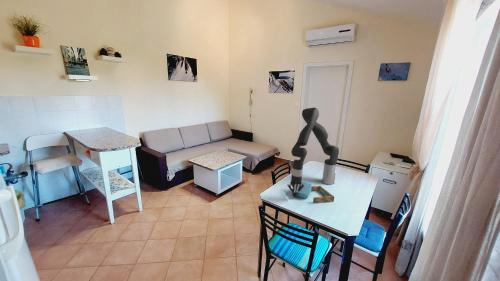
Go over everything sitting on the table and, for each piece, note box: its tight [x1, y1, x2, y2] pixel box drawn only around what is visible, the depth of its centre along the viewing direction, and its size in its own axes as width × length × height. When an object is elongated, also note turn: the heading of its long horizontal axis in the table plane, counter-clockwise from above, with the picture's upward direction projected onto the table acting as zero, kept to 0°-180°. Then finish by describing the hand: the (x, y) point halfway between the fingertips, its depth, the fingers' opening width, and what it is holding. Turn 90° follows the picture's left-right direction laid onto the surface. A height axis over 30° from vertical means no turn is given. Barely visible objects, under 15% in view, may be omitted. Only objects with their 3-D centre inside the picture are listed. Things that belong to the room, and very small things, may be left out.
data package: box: [291, 181, 313, 200], centre depth 153 cm, size 12×4×12 cm
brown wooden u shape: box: [310, 185, 335, 204], centre depth 152 cm, size 16×18×4 cm
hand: (294, 196), depth 148 cm, fingers closed
